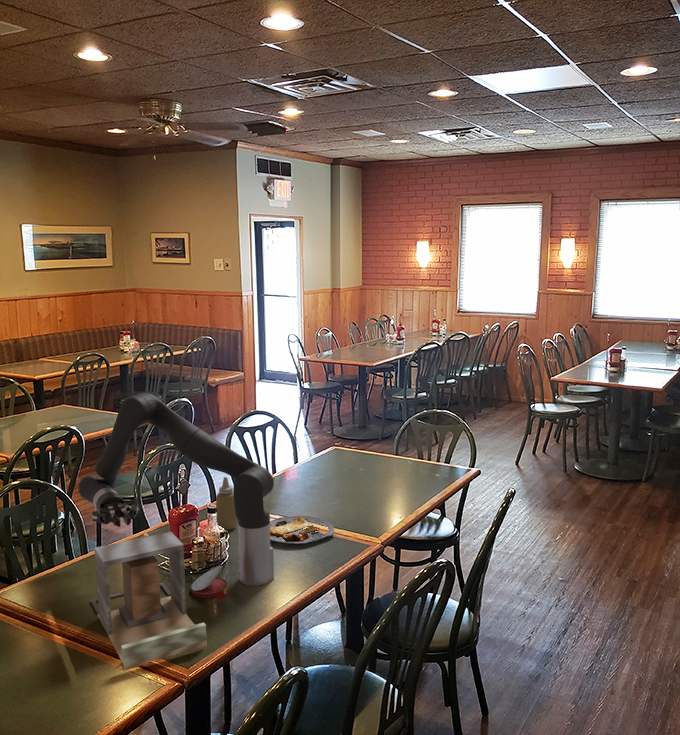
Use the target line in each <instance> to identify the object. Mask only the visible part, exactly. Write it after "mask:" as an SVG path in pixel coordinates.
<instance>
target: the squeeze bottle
mask: <svg viewBox="0 0 680 735" xmlns="http://www.w3.org/2000/svg"><path fill="white" fill-rule="evenodd" d="M216 509H217V521H216V523H217V522H218V524H217V526H218V525H219V526H221V527H222V528H224V529H225V530H226V531H227V530H232V529H235V528H236V527H237V525H238V519H237V517H236V514H235V508H234V495H233V486H232V485H230V483H229V478H228V477H227V476H224V477H223V480H222V485H221V486H220V487H219V488H218V493H217V495H216V503H215V510H216ZM219 526H218V527H219ZM225 530H224V531H225Z"/></svg>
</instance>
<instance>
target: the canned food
mask: <svg viewBox="0 0 680 735" xmlns="http://www.w3.org/2000/svg"><path fill="white" fill-rule="evenodd" d="M222 570H223V565H219V566H216V567H214V568H212V569H209V570H208V571H206V572H204V573H203V574H201V576H199V577H197V579H196V580H194V581H193V583H192V584H191V586H190V587H191V594H192V595H193V596H195V597H197V598H202V599H203V598H204V599H208V598H209V599H211V598H216V599H217V601H219V602H220V601H222V600H223V599H225V598H226V597H227V596H228V582H227V581H226V580H225V579H224V578H221V577H218V575H219V573H221V571H222Z"/></svg>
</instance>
